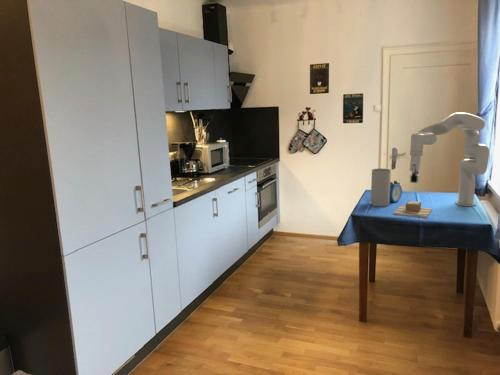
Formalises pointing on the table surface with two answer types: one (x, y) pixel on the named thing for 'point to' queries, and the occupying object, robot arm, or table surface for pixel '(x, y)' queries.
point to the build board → (421, 214)
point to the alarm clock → (395, 191)
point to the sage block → (417, 178)
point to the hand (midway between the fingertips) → (414, 180)
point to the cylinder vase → (380, 187)
